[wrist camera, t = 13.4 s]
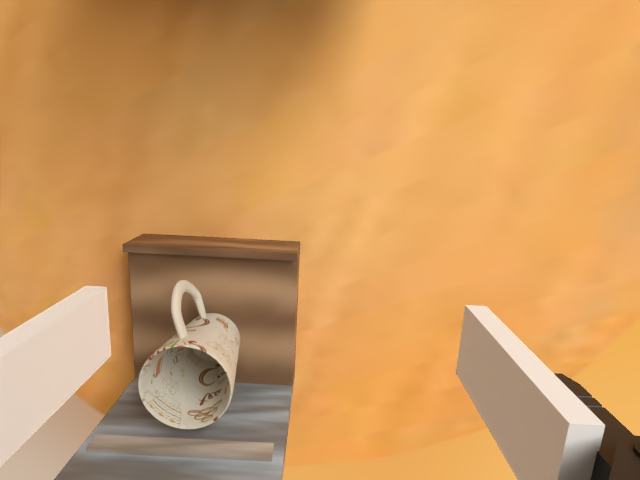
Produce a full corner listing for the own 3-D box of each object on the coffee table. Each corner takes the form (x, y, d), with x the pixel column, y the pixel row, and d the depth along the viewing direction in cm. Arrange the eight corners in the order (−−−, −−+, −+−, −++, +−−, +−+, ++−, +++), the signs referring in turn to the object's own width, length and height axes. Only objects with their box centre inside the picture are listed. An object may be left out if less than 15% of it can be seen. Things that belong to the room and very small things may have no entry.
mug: (189, 377, 48) (155, 438, 38) (154, 275, 45) (107, 312, 35) (259, 362, 47) (243, 419, 38) (228, 258, 45) (201, 290, 35)
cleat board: (143, 233, 48) (21, 295, 29) (300, 241, 48) (284, 309, 29) (149, 371, 52) (46, 507, 33) (294, 378, 52) (277, 518, 33)
